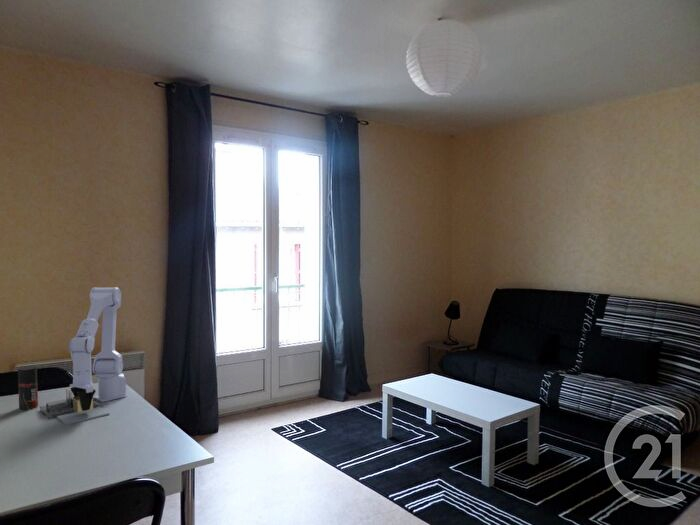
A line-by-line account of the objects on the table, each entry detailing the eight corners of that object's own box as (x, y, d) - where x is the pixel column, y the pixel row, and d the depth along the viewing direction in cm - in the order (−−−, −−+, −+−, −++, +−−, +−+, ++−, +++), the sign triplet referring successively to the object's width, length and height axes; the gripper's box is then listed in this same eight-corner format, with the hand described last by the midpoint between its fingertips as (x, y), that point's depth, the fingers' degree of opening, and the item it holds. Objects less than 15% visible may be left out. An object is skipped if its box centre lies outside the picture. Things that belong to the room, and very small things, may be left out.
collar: (88, 406, 177) (87, 393, 177) (93, 409, 174) (92, 396, 174) (73, 409, 174) (72, 397, 173) (77, 412, 170) (77, 400, 170)
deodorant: (31, 410, 180) (29, 370, 180) (15, 410, 180) (13, 370, 180) (41, 405, 186) (40, 366, 186) (26, 405, 186) (24, 366, 186)
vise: (87, 400, 191) (86, 381, 191) (98, 407, 183) (97, 387, 183) (40, 410, 180) (39, 390, 180) (49, 418, 172) (49, 397, 171)
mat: (99, 408, 182) (99, 406, 182) (109, 414, 176) (109, 412, 175) (57, 418, 172) (57, 416, 172) (66, 425, 165) (66, 423, 165)
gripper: (63, 368, 175) (64, 406, 176) (76, 376, 165) (77, 416, 166) (84, 365, 180) (85, 401, 181) (99, 372, 170) (100, 410, 171)
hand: (83, 408), depth 174 cm, fingers closed on collar, 5 cm apart
